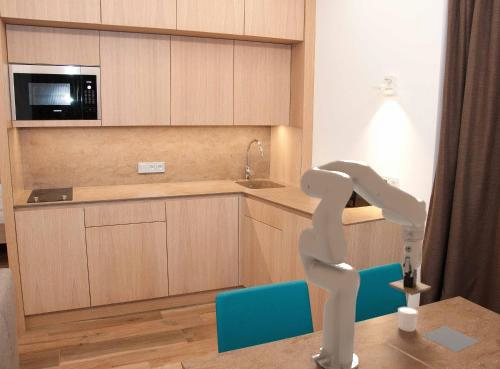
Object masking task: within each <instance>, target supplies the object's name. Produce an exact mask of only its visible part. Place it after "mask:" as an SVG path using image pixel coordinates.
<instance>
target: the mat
mask: <svg viewBox="0 0 500 369" xmlns="http://www.w3.org/2000/svg"><path fill="white" fill-rule="evenodd" d="M421 337H424V338H425V339H427V340H430V341H431V342H433V343H436V344H438V345H440V346H442V347H444V348H446V349H448V350H450V351H452V352H454V353H458V352H460V351H462V350H465V349H466V348H469V347H470V346H473V345H475V344H477V343H479V342H480V340H477V339H475V338H472V337H470V336H468V335H465V334H464V333H461V332H459V331H457V330H454V329H452V328H450V327H448V326H446V325H444V326H442V327H439V328H437V329H435V330H432V331H429V332H427V333H425V334H422V335H421Z"/></svg>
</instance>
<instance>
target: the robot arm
mask: <svg viewBox="0 0 500 369" xmlns="http://www.w3.org/2000/svg"><path fill="white" fill-rule="evenodd" d="M299 184H300V189H301V191H302V192H303V194H304V195H305V196H307V197H310V198H314V199H319V200H320V202H319V203H318V204H317V206H316V208H315V209H314V210H313V213H312V217H311V223H312V224H311V226H308V227H305V228H304V229H303V230H302V231H301V233H300V234H299V236H298V243H297V248H298V249H297V250H298V252H299V257H300V260H301V264H302V267H303V271H304V275H305V276H306V279H307V281H308V282H309V283H310V284H312V285H313V286H315V287H318V288H320V289H323V290H324V291H327V292H328V293H329V296H328V298H327V299H326V300H325V301H324V303H323V308H322V309H323V311H322V312H323V314H322V343H321V344H322V347H320V348H319V352H318V353H317V354H314V355H311V356H310V357H309V361H310V362H311V363H312V364H314V363H318V365H319V366H320V367H322V368H323V369H357V368H358V366H359V358H358V356H357V355H356V354H355V353H354V350H355V348H354V347H355V323H356V304H357V296H358V292H359V289H360V284H361V276H360V274H359V272H358V271H357V269H356V268H355V267H353V266H352V265H349V264H348V263H345V262H346V261H347V259H348V256H349V248H348V247H349V246H348V241H347V238H346V233H345V229H344V224H343V218H342V217H343V213H344V210H345V207H346V206H347V204H348V202H349V201H350V198H351V197H352V195H353V193H354V192H355V193H356V194H357V195H359V196H360V197H361V198H363V199H364V200H365V201H366V202H367V203H368V204H369V205H372V206H374V207H376V208H378V209H381V215H382V217H383V219H385V220H386V221H387V222H390V223H394V224H398V225H401V227H400V229H401V230H400V239H402V241H403V242H402V243H403V244H402V252H401V267H402V268H404V270H403V279H404V281H403V286H404V287H409V288H413V280H414V277H413V270H414V271H416V272H418V268H420V266H421V265H422V264H423V241H425V228H426V225H425V224H426V221H427V217H428V214H427V213H428V212H427V210H426V209H427V203H426V201H425V200H424V199H421V198H417V197H415V196H413V195H412V194H410V193H408V192H407V191H404V190H402V189H400V188H398V187H396V186H395V185H392V184H391V183H389V182H387V181H386V180H385V179H384V178H383V177H382V176H381V175H380V174H378V173H377V171H375V170H374V169H373V168H372V167H371V166H370V165H368V164H367V163H365V162H362V161H356V160H349V159H348V160H347V159H338V160H337V159H336V160H333V161H329V162H327V163H323V164H321V165H317V166H314V167H312V168H309V169H307V170H306V171H305V172H303V174H302V176H301V178H300V183H299ZM409 270H411V272H410V271H409ZM417 275H418V274H417ZM417 275H416V281H417V282H418V280H417V279H418V276H417Z"/></svg>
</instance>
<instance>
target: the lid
mask: <svg viewBox="0 0 500 369" xmlns="http://www.w3.org/2000/svg"><path fill="white" fill-rule="evenodd" d="M409 271H410V272H411V270H409ZM417 272H418V271H417ZM417 272H416V271H414V270H413V277H414V280H413V288H409V287H404V286H403V281H404V278H403V279H400V280H397V281H394V282H393V281H392V282H388V286H389V287H391V288H394V289H395V290H398V291H401V292H403V293H405V294H408V295H411V296H414V295H418V294H420V293H423V292H427V291H429V290H432V286H431V285H427V284H425V283H422V282H420V281H418V280H417V281H416V275H418V273H417Z"/></svg>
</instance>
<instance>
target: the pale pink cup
mask: <svg viewBox="0 0 500 369" xmlns="http://www.w3.org/2000/svg"><path fill="white" fill-rule="evenodd" d="M418 316H419V311H418V310H417V309H416V308H414V307H410V306H401V307H398V308H397V318H398V319H397V320H398V328H399V330H401V331H404V332H415V331H416V329H417V324H418Z"/></svg>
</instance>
